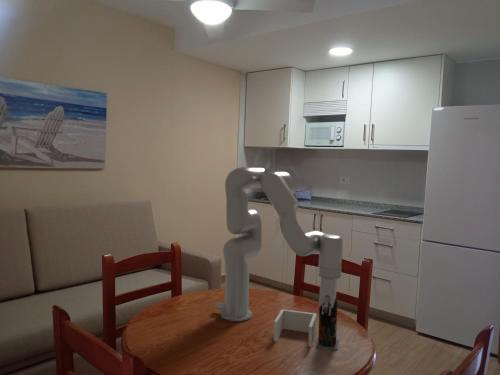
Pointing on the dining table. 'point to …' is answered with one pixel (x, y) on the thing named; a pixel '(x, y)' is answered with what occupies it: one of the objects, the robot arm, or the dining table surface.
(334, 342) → the deodorant
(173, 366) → the dining table surface
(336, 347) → the coaster
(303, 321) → the u-shaped bracket
